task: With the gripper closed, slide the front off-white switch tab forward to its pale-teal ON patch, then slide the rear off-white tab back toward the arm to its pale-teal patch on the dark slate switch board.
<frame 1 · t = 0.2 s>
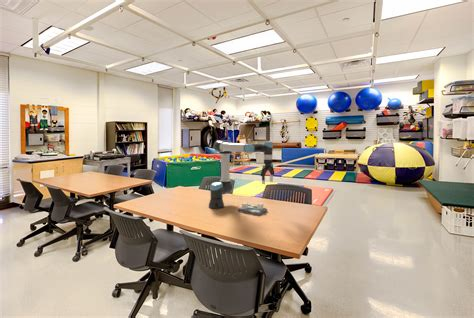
hand: (267, 182, 219), 27 cm above the table, fingers open, 13 cm apart
tab 1: (245, 205, 226), point 5 cm above the table, slide at 0.0 cm
switch board: (252, 211, 226), on the table
tab 2: (260, 206, 225), point 5 cm above the table, slide at 0.0 cm
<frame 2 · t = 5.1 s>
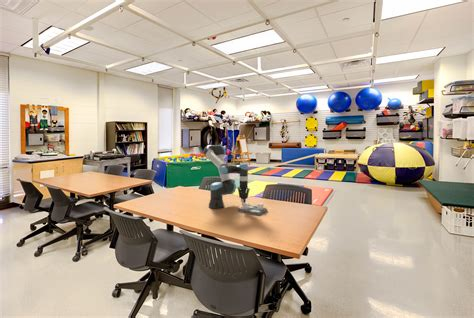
hand: (243, 205, 227), 5 cm above the table, fingers closed
tab 1: (245, 206, 225), point 5 cm above the table, slide at 1.0 cm, touching gripper
everything else where it was.
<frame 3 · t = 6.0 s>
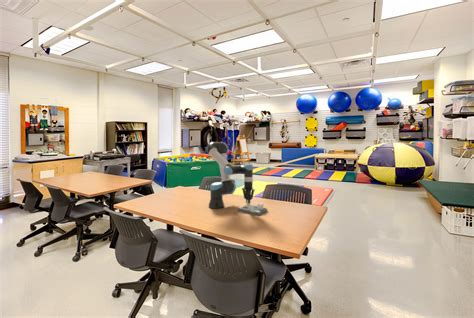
hand: (248, 206, 224), 5 cm above the table, fingers closed
tab 1: (250, 207, 222), point 5 cm above the table, slide at 6.2 cm, touching gripper
everything else where it was.
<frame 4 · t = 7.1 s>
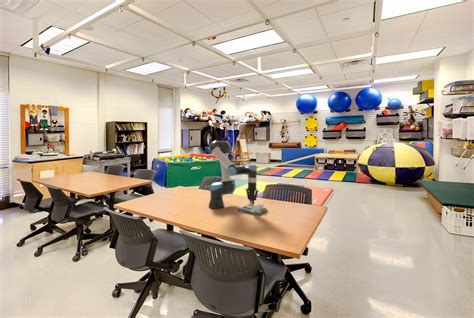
hand: (251, 207, 221), 4 cm above the table, fingers closed
tab 1: (254, 207, 220), point 5 cm above the table, slide at 10.1 cm, touching gripper
everything else where it was.
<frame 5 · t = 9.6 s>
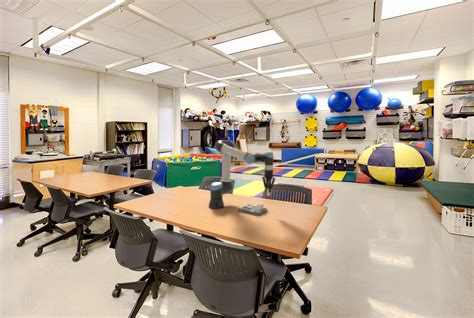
hand: (268, 195, 219), 16 cm above the table, fingers closed
tab 1: (254, 207, 220), point 5 cm above the table, slide at 10.2 cm
everything else where it was.
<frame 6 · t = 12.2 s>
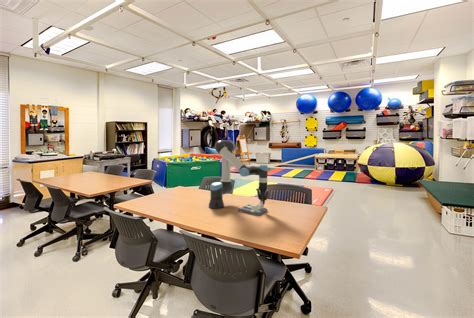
hand: (262, 207, 223), 4 cm above the table, fingers closed
tab 2: (259, 206, 225), point 5 cm above the table, slide at 0.5 cm, touching gripper
everything else where it was.
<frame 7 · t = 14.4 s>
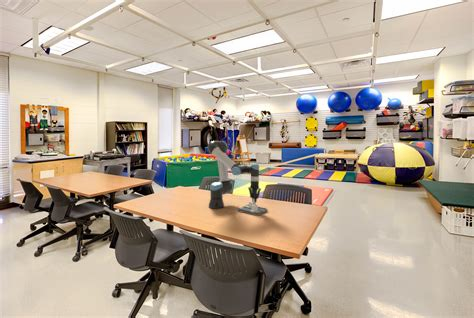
hand: (254, 205, 228), 4 cm above the table, fingers closed
tab 2: (251, 204, 230), point 5 cm above the table, slide at 9.2 cm, touching gripper
everything else where it was.
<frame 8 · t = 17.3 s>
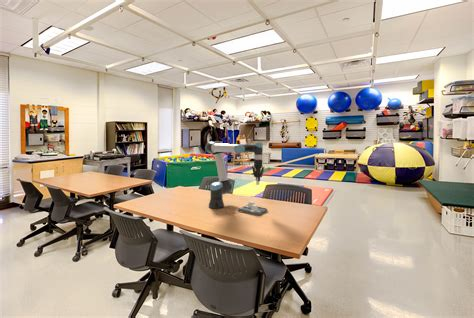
hand: (257, 184, 226), 24 cm above the table, fingers closed
tab 2: (251, 204, 230), point 5 cm above the table, slide at 9.7 cm
everything else where it was.
at the end: tab 1 slide at 10.2 cm; tab 2 slide at 9.7 cm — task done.
